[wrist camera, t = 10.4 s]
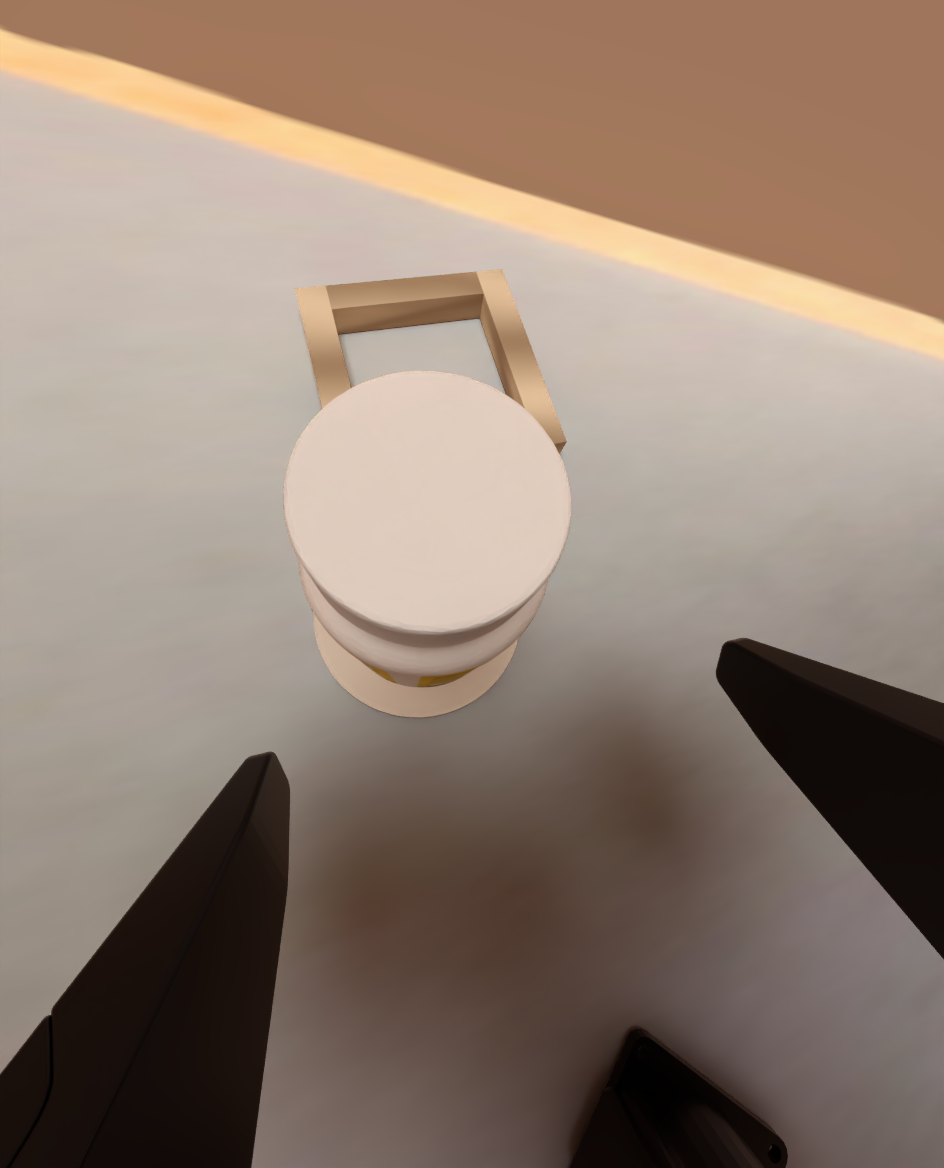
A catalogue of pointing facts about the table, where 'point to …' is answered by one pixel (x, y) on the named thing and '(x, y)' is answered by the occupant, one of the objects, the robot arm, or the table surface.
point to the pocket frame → (426, 304)
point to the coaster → (406, 698)
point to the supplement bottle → (425, 522)
